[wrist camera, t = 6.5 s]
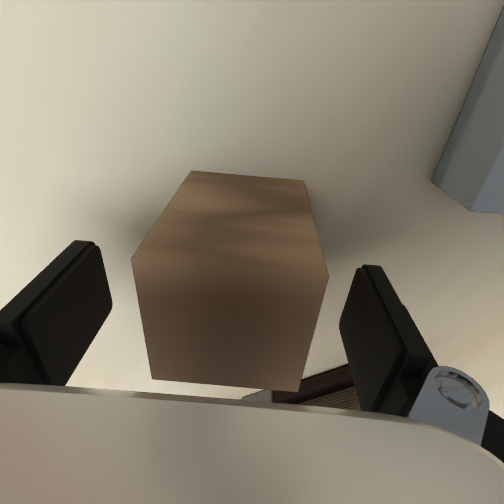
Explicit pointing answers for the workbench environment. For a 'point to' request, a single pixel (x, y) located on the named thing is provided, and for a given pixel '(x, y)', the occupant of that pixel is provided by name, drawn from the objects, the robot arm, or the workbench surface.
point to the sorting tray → (479, 137)
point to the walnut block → (231, 283)
